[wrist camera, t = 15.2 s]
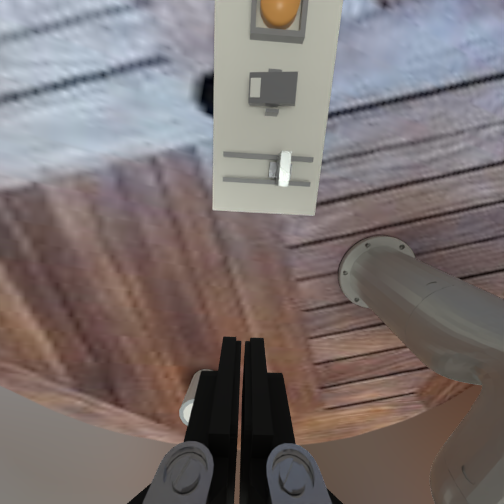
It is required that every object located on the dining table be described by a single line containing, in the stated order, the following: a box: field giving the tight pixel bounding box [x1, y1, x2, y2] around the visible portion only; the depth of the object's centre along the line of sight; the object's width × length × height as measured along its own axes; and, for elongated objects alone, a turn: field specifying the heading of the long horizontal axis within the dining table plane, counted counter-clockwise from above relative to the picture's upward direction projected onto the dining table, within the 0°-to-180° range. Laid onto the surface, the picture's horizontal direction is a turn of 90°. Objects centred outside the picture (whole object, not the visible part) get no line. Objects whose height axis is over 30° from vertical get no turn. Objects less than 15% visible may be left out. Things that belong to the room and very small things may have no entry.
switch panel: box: [213, 0, 343, 216], centre depth 31 cm, size 15×30×4 cm, turn 177°
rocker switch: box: [248, 72, 298, 107], centre depth 29 cm, size 6×3×2 cm, turn 87°
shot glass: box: [179, 369, 213, 426], centre depth 43 cm, size 7×7×7 cm
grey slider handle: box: [268, 151, 292, 187], centre depth 31 cm, size 3×4×5 cm
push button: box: [260, 0, 301, 30], centre depth 27 cm, size 4×4×2 cm
